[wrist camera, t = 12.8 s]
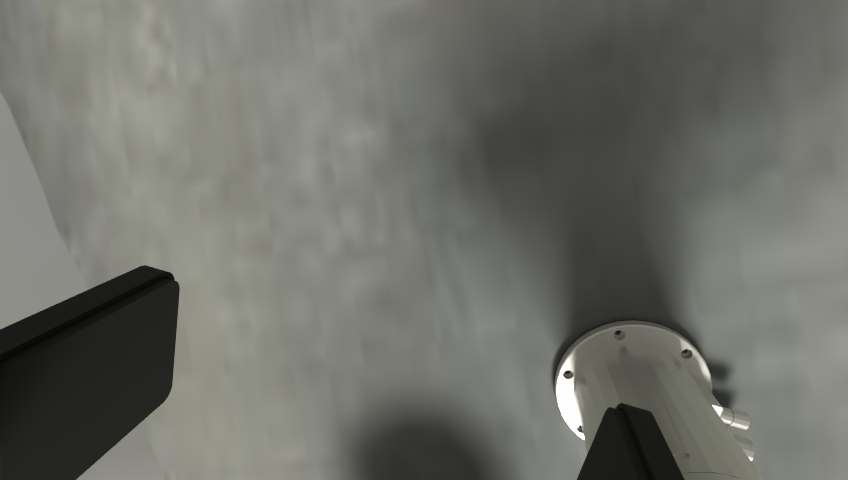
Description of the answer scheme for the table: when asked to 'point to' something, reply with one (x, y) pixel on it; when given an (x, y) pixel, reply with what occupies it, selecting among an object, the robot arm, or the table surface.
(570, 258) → the table surface
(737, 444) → the robot arm
